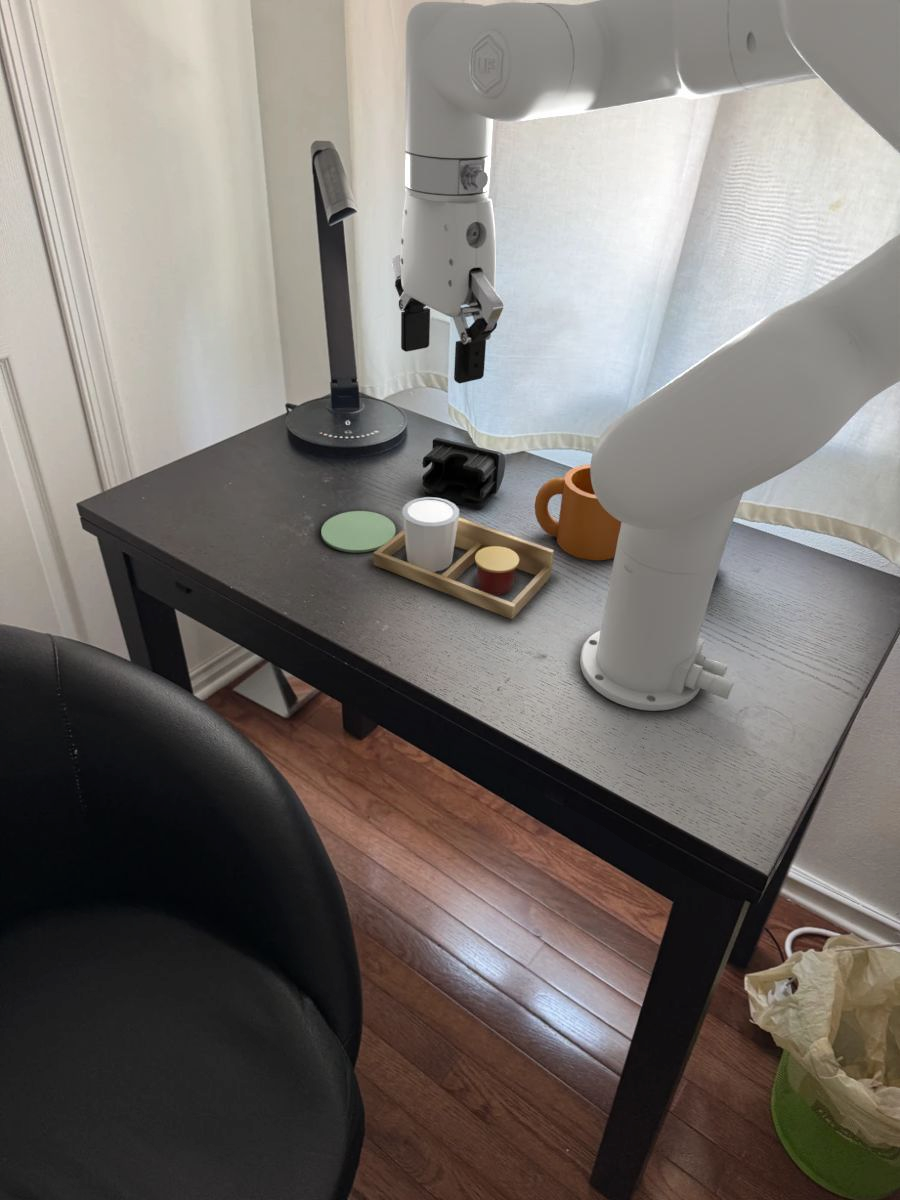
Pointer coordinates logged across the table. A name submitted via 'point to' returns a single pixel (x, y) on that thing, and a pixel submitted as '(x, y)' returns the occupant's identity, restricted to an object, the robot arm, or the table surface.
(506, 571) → the coffee pod
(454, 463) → the end cap
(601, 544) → the mug
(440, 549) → the shot glass
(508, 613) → the pod caddy
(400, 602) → the table surface
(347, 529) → the coaster
